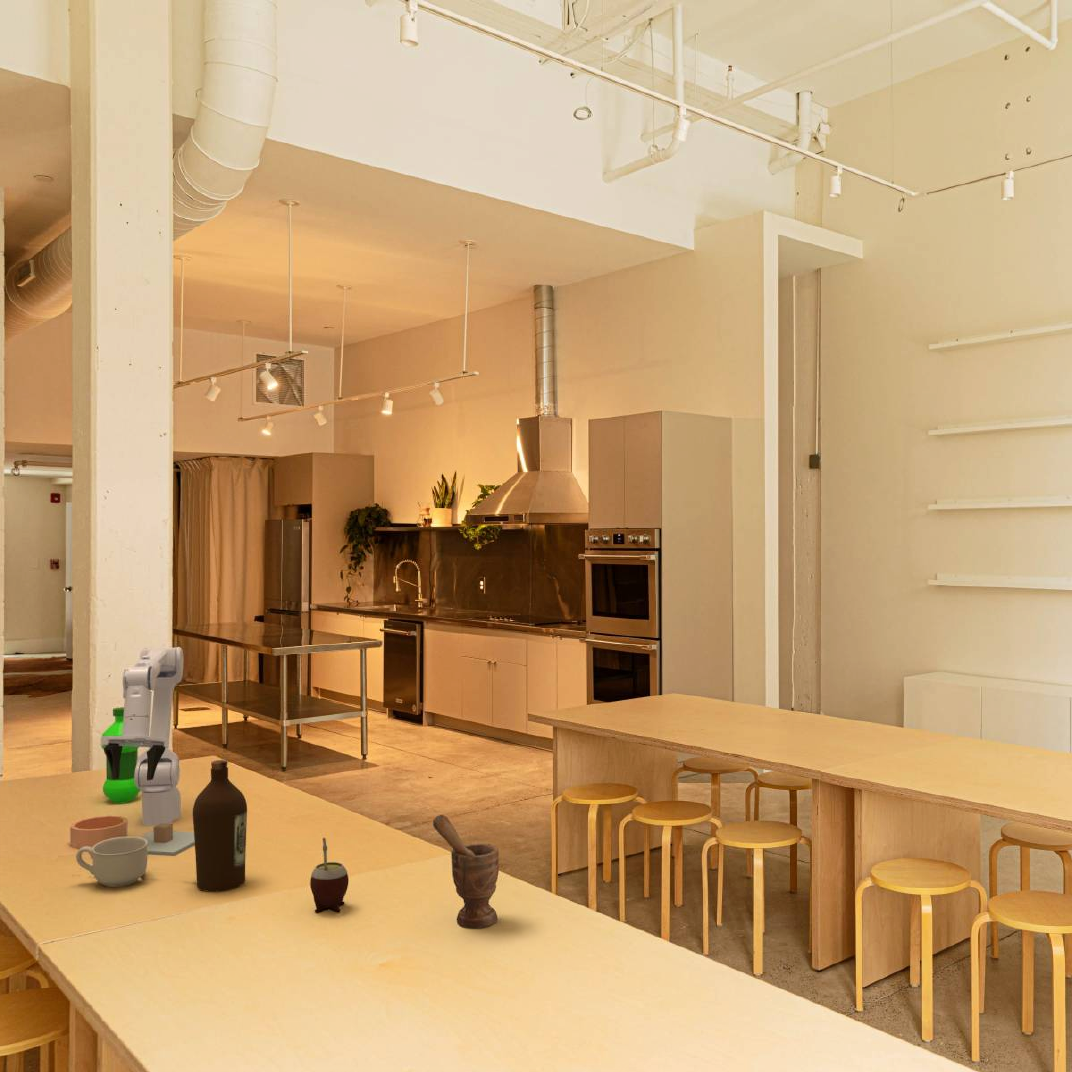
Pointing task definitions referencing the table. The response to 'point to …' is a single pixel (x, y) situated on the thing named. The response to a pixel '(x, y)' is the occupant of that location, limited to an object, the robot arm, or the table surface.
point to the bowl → (97, 830)
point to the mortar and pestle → (472, 875)
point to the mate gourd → (329, 884)
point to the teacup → (116, 860)
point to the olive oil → (220, 832)
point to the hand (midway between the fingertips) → (132, 779)
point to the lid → (167, 840)
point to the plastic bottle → (121, 766)
